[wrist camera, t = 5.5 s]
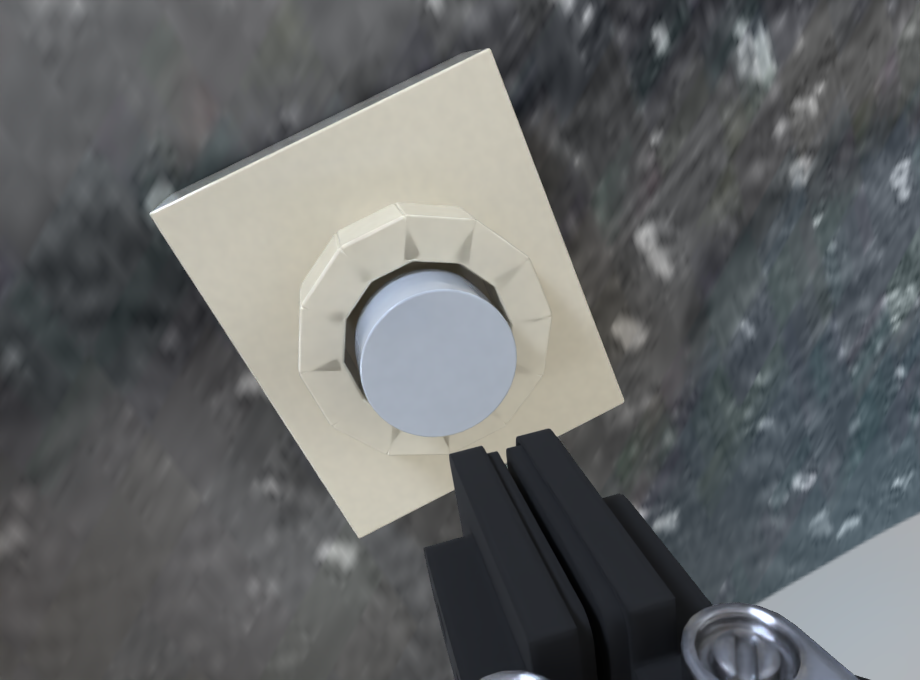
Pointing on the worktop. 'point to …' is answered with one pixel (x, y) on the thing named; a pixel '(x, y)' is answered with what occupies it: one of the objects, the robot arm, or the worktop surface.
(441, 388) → the pale blue cylinder
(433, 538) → the worktop surface
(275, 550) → the worktop surface
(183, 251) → the button base
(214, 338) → the worktop surface
